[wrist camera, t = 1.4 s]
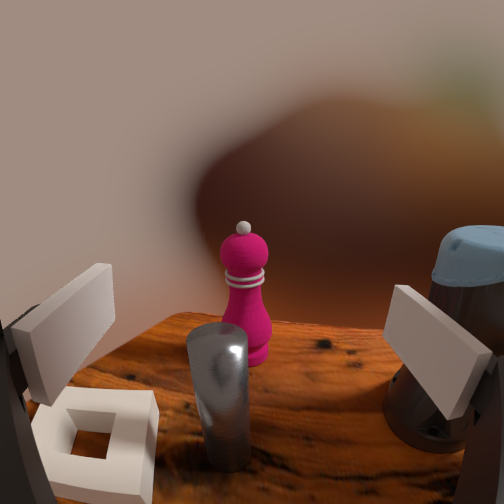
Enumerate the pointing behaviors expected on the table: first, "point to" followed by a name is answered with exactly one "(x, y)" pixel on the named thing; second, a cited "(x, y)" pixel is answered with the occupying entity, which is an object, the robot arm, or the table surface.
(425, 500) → the table surface
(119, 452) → the socket block
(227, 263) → the pepper mill
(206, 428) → the peg
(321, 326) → the table surface
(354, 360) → the table surface
